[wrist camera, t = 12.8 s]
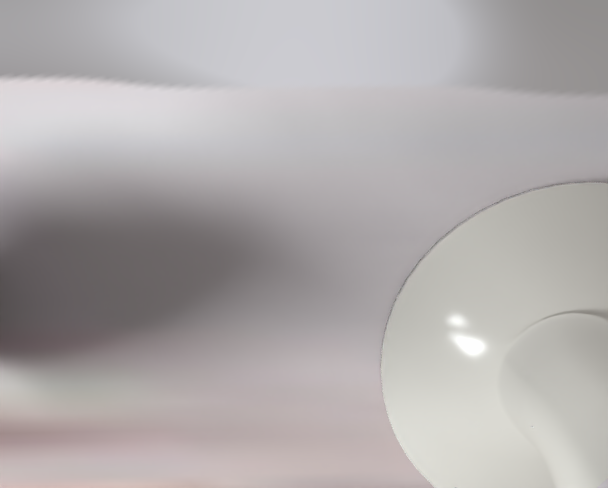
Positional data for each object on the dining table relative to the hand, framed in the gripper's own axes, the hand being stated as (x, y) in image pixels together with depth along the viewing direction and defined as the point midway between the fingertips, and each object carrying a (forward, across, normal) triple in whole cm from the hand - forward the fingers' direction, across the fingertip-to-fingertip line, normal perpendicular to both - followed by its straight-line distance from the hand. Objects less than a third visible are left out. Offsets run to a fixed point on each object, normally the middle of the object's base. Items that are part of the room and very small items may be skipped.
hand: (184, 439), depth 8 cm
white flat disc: (+13, -13, +2) cm, 18 cm away
